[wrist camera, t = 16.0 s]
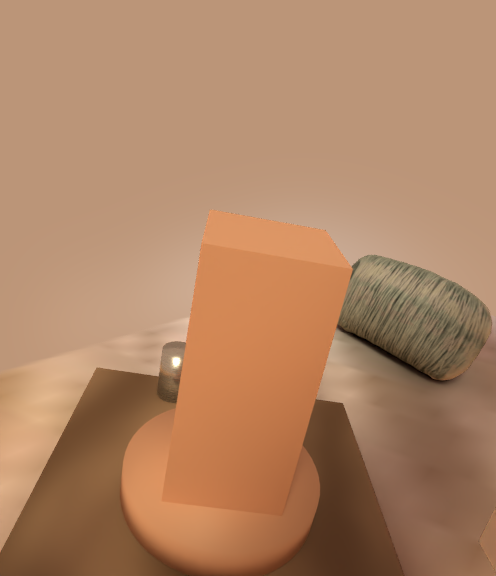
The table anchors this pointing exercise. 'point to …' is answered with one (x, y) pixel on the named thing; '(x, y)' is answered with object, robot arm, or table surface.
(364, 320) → the spool
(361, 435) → the table surface
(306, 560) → the plate
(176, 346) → the dowels
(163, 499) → the tall pillar on disc
